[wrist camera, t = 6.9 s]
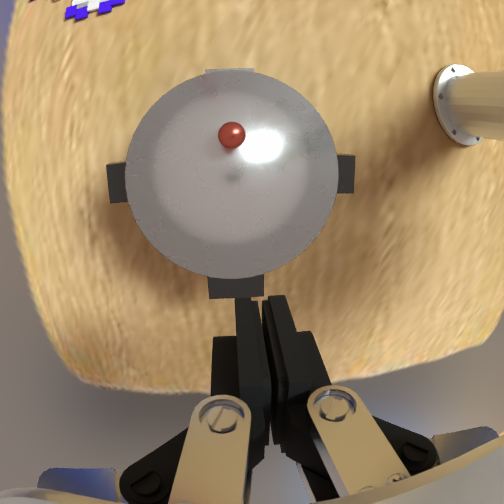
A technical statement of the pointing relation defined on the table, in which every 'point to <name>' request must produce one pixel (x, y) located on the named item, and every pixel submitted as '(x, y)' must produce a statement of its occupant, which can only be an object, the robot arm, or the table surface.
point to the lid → (231, 178)
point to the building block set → (90, 7)
